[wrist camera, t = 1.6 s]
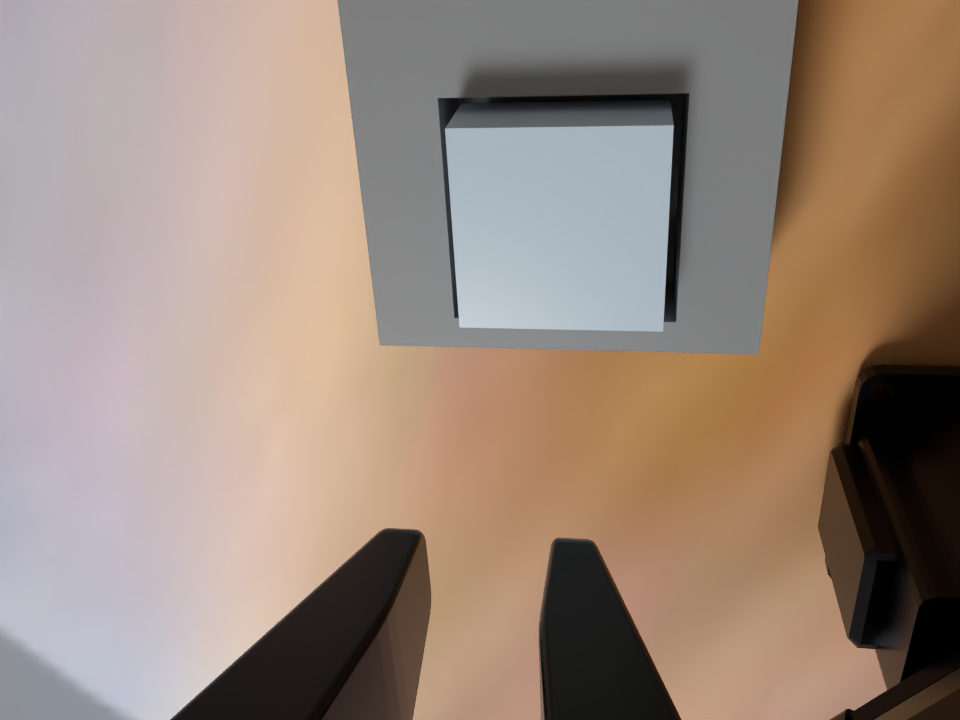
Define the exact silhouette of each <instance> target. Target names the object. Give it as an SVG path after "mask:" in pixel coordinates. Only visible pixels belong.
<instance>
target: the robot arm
mask: <svg viewBox="0 0 960 720" xmlns="http://www.w3.org/2000/svg"><path fill="white" fill-rule="evenodd" d="M883 382H884V383H888V384H889V385H888V387H887V388H886V389H885V390H883V391H881V392H872V391H870V390H871V388H872V387H873V386H874V385H876V384H877V383H883ZM818 529H819V533H820V537H821V540H822V544H823V548H824V552H825V564H826V568H827V572H828V575H829V576H830V577H831V579H832V582H833V586H834V589H835V593H836V597H837V601H838V604H839V608H840V612H841V616H842V619H843V623H844V627H845V631H846V634H847V638H848V639H849V640H850V641H851V642H852V643H853V644H854V645H855V646H856V647H857V648H868V649H875V651H876V654H877V658H878V661H879V665H880V668H881V671H882V675H883V678H884V681H885V685H886V688H887V691H885V692H884V693H882V694H881V695H879V696H877V697H876V698H874V699H873V700H871V701H869V702H868V703H866V704H865V705H863V706H861V707H860V708H858V709H856V710H855V711H853V710H851V709H846V710H845V711H843V712H841V713H840V714H838V715H837V716H835V717H833V718H832V719H830V720H960V367H944V366H905V365H877V366H871V367H869V368H867V369H865V370H864V371H863V372H862V373H861V374H860V375H859V376H858V378H857V380H856V383H855V388H854V394H853V400H852V406H851V411H850V417H849V423H848V429H847V434H846V440H845V443H840V444H838V445H837V446H836V447H835V448H834V449H833V450H832V451H831V452H830V456H829V463H828V469H827V475H826V481H825V487H824V493H823V499H822V505H821V511H820V517H819V523H818ZM430 609H431V586H430V576H429V567H428V557H427V548H426V540H425V537H424V535H423V533H422V532H420V531H419V530H413V529H395V528H387V529H383V530H381V531H380V532H378V533H377V534H376V535H375V536H374V537H373V538H372V539H371V540H369V541H368V542H367V543H366V544H365V545H364V546H363V547H362V548H361V549H359V550H358V551H357V552H356V553H355V554H354V555H353V556H352V557H351V558H349V559H348V560H347V561H346V562H345V563H344V564H343V565H342V566H341V567H339V568H338V569H337V570H336V571H335V572H334V573H333V574H332V575H331V576H329V577H328V578H327V579H326V580H325V581H324V582H323V583H322V584H321V585H319V586H318V587H317V588H316V589H315V590H314V591H313V592H312V593H311V594H309V595H308V596H307V597H306V598H305V599H304V600H303V601H302V602H301V603H299V604H298V605H297V606H296V607H295V608H294V609H293V610H292V611H291V612H289V613H288V614H287V615H286V616H285V617H284V618H283V619H282V620H280V621H279V622H278V623H277V624H276V625H275V626H274V627H273V628H272V629H270V630H269V631H268V632H267V633H266V634H265V635H264V636H263V637H262V638H260V639H259V640H258V641H257V642H256V643H255V644H254V645H253V646H252V647H250V648H249V649H248V650H247V651H246V652H245V653H244V654H243V655H242V656H240V657H239V658H238V659H237V660H236V661H235V662H234V663H233V664H232V665H230V666H229V667H228V668H227V669H226V670H225V671H224V672H223V673H222V674H220V675H219V676H218V677H217V678H216V679H215V680H214V681H213V682H212V683H210V684H209V685H208V686H207V687H206V688H205V689H204V690H203V691H202V692H200V693H199V694H198V695H197V696H196V697H195V698H194V699H193V700H192V701H190V702H189V703H188V704H187V705H186V706H185V707H184V708H183V709H182V710H180V711H179V712H178V713H177V714H176V715H175V716H174V717H173V718H172V719H170V720H412V719H413V713H414V707H415V701H416V695H417V689H418V683H419V677H420V671H421V665H422V659H423V653H424V647H425V641H426V635H427V629H428V623H429V617H430ZM539 663H540V697H541V720H681V718H680V716H679V714H678V712H677V710H676V708H675V706H674V704H673V701H672V699H671V697H670V695H669V693H668V691H667V689H666V687H665V685H664V683H663V681H662V679H661V677H660V675H659V673H658V671H657V669H656V667H655V665H654V662H653V660H652V658H651V656H650V654H649V652H648V650H647V648H646V646H645V644H644V642H643V640H642V638H641V636H640V634H639V632H638V630H637V628H636V626H635V623H634V621H633V619H632V617H631V615H630V613H629V611H628V609H627V607H626V605H625V603H624V601H623V599H622V597H621V595H620V593H619V591H618V589H617V586H616V584H615V582H614V580H613V578H612V576H611V574H610V572H609V570H608V568H607V566H606V564H605V562H604V560H603V558H602V556H601V554H600V552H599V550H598V547H597V546H596V544H595V543H594V542H593V541H591V540H588V539H573V538H556V539H555V540H554V541H553V542H552V544H551V549H550V555H549V561H548V568H547V574H546V581H545V587H544V593H543V600H542V606H541V613H540V622H539Z"/></svg>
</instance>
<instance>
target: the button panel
mask: <svg viewBox="0 0 960 720" xmlns="http://www.w3.org/2000/svg"><path fill="white" fill-rule="evenodd" d="M338 7H339V15H340V24H341V32H342V40H343V48H344V56H345V64H346V72H347V81H348V89H349V97H350V105H351V113H352V121H353V130H354V138H355V146H356V154H357V162H358V170H359V179H360V187H361V195H362V203H363V211H364V219H365V228H366V236H367V244H368V252H369V260H370V268H371V277H372V285H373V293H374V301H375V309H376V317H377V325H378V334H379V342H380V345H394V346H435V347H476V348H518V349H559V350H601V351H642V352H683V353H725V354H759V351H760V342H761V333H762V324H763V315H764V306H765V297H766V288H767V279H768V270H769V261H770V252H771V243H772V234H773V225H774V216H775V207H776V198H777V189H778V180H779V171H780V162H781V153H782V144H783V135H784V126H785V117H786V108H787V99H788V90H789V81H790V72H791V63H792V54H793V45H794V36H795V27H796V18H797V9H798V0H338ZM624 100H670V102H671V109H672V117H673V124H674V129H673V148H672V168H671V188H670V207H669V227H668V246H667V266H666V285H665V305H664V324H663V332H653V331H605V330H557V329H509V328H461V327H459V314H458V301H457V287H456V273H455V259H454V246H453V232H452V218H451V205H450V191H449V177H448V163H447V150H446V136H445V128H446V126H447V125H448V123H449V122H450V120H451V119H452V117H453V116H454V114H455V113H456V111H457V110H458V108H459V107H460V105H461V104H462V103H512V102H568V101H624Z"/></svg>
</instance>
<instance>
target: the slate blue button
mask: <svg viewBox="0 0 960 720" xmlns="http://www.w3.org/2000/svg"><path fill="white" fill-rule="evenodd" d="M673 129H674V124H673V117H672V109H671V102H670V100H624V101H568V102H512V103H462V104H461V105H460V107H459V108H458V110H457V111H456V113H455V114H454V116H453V117H452V119H451V120H450V122H449V123H448V125H447V126H446V128H445V136H446V150H447V163H448V177H449V191H450V205H451V218H452V232H453V246H454V259H455V273H456V287H457V301H458V314H459V327H461V328H509V329H557V330H605V331H653V332H663V324H664V305H665V285H666V266H667V246H668V227H669V207H670V188H671V168H672V148H673Z"/></svg>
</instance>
